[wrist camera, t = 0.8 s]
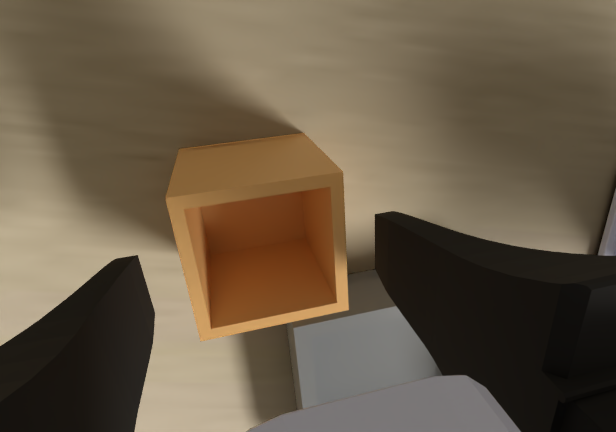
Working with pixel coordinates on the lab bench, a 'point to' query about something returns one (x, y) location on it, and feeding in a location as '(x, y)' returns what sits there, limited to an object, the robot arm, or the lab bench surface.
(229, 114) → the lab bench surface
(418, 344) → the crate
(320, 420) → the robot arm
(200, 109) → the lab bench surface
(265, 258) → the small crate
